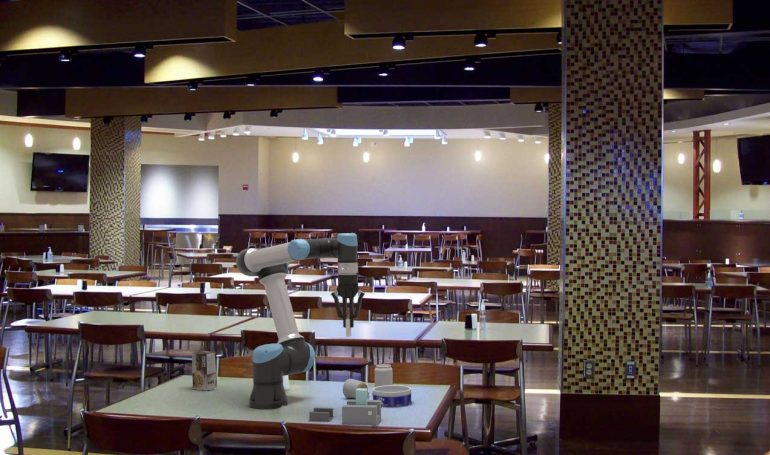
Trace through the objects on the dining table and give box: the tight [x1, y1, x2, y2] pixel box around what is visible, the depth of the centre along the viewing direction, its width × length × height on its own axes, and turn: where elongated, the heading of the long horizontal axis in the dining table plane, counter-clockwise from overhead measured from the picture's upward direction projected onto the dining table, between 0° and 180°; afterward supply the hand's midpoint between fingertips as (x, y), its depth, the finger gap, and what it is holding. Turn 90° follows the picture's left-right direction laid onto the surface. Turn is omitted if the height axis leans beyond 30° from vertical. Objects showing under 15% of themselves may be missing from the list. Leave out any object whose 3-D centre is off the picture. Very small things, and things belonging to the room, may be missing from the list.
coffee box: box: [191, 350, 218, 391], centre depth 367 cm, size 9×6×16 cm
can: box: [374, 363, 394, 388], centre depth 352 cm, size 8×8×12 cm
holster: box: [307, 407, 336, 423], centre depth 304 cm, size 8×9×4 cm
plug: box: [355, 388, 369, 405], centre depth 301 cm, size 4×4×12 cm
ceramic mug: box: [342, 378, 370, 400], centre depth 344 cm, size 11×8×8 cm
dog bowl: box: [372, 384, 412, 408], centre depth 333 cm, size 15×15×6 cm
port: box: [341, 399, 382, 428], centre depth 300 cm, size 12×12×7 cm
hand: (348, 336), depth 320 cm, fingers closed
